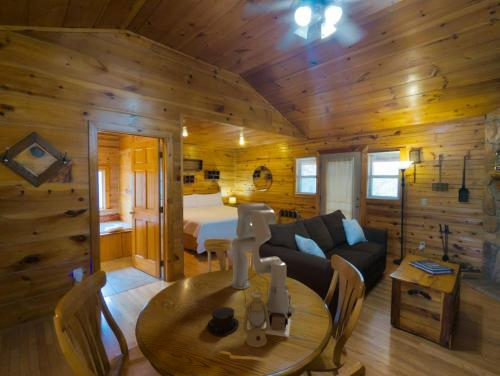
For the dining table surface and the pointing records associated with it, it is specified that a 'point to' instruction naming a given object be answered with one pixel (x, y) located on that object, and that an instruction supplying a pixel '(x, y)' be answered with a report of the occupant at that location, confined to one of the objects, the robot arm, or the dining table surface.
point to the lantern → (256, 320)
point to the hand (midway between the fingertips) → (278, 324)
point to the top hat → (222, 321)
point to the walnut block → (278, 321)
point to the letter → (279, 332)
